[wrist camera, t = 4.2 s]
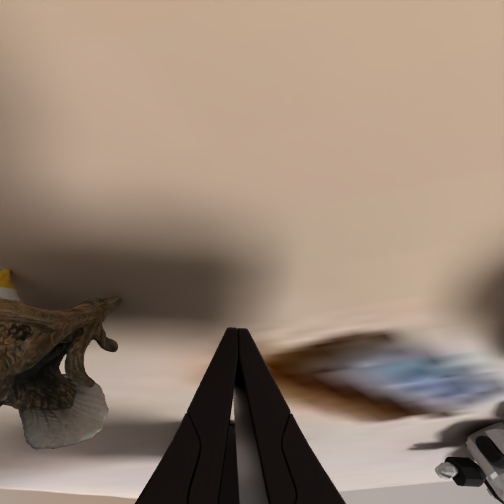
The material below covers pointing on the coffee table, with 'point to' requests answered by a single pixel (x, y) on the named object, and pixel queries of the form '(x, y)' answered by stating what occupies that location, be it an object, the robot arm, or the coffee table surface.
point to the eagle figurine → (51, 367)
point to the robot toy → (480, 462)
